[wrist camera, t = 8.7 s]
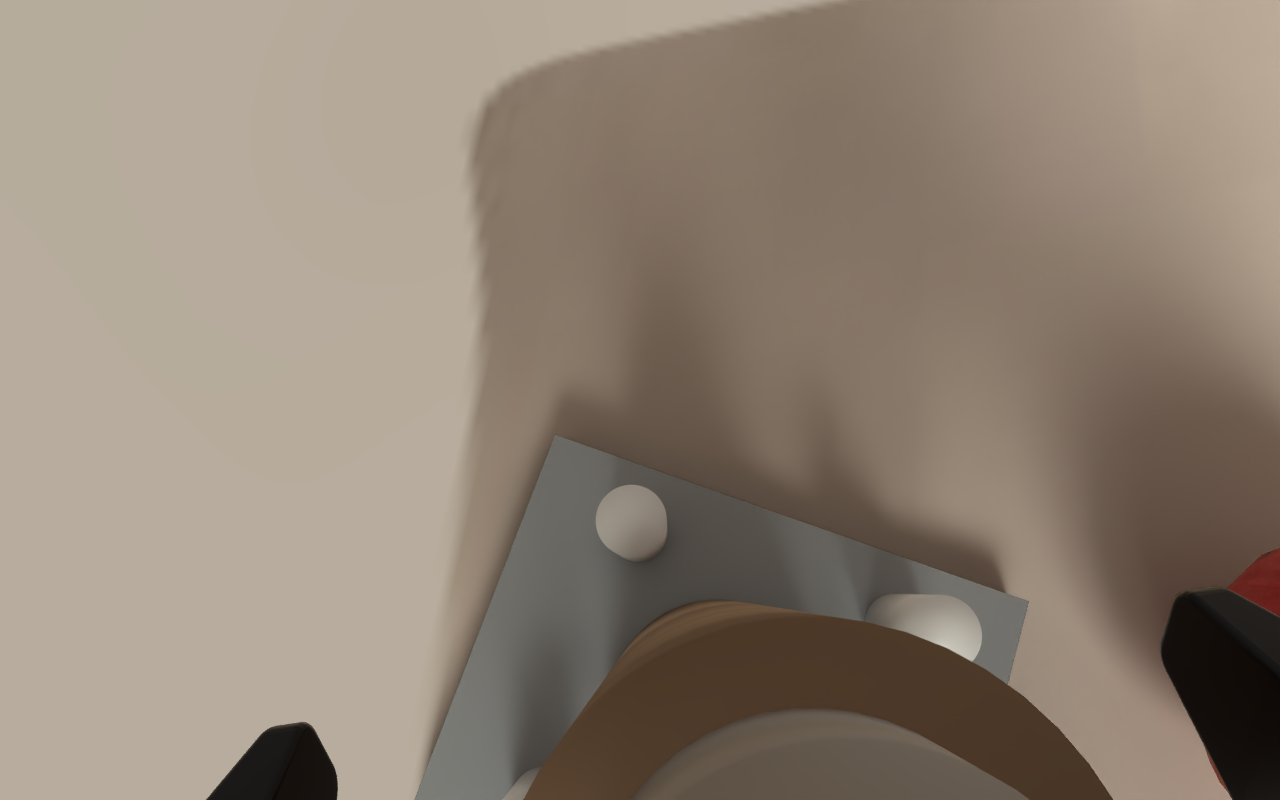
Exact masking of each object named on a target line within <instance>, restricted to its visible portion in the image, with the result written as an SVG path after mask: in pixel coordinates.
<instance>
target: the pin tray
mask: <svg viewBox="0 0 1280 800" xmlns="http://www.w3.org/2000/svg"><path fill="white" fill-rule="evenodd" d="M720 599H723V600H731V601H739V602H745V603H752V604H758V605H764V606H770V607H777V608H783V609H789V610H795V611H802V612H808V613H814V614H820V615H827V616H833V617H839V618H845V619H851V620H858V621H864V622H868V623H872V624H876V625H880V626H884V627H888V628H892V629H896V630H900V631H904V632H908V633H910V634H913V635H915V636H918V637H920V638H923V639H925V640H928V641H930V642H933V643H935V644H938V645H940V646H943V647H946V648H948V649H950V650H952V651H953V652H955V653H957V654H959V655H961V656H963V657H964V658H966V659H968V660H970V661H972V662H973V663H975V664H977V665H979V666H981V667H983V668H984V669H986V670H988V671H989V672H990V673H992V674H993V675H995V676H996V677H997V678H999V679H1000V680H1002V681H1003V682H1004V683H1006V684H1008V681H1009V677H1010V673H1011V669H1012V665H1013V661H1014V657H1015V653H1016V649H1017V646H1018V642H1019V638H1020V634H1021V630H1022V626H1023V622H1024V618H1025V614H1026V611H1027V607H1028V603H1029V601H1026V600H1023V599H1020V598H1017V597H1015V596H1012V595H1009V594H1006V593H1003V592H1000V591H998V590H995V589H992V588H989V587H986V586H983V585H981V584H978V583H975V582H972V581H969V580H966V579H964V578H961V577H958V576H955V575H952V574H949V573H946V572H944V571H941V570H938V569H935V568H932V567H929V566H927V565H924V564H921V563H918V562H915V561H912V560H910V559H907V558H904V557H901V556H898V555H895V554H893V553H890V552H887V551H884V550H881V549H878V548H876V547H873V546H870V545H867V544H864V543H861V542H858V541H856V540H853V539H850V538H847V537H844V536H841V535H839V534H836V533H833V532H830V531H827V530H824V529H822V528H819V527H816V526H813V525H810V524H807V523H805V522H802V521H799V520H796V519H793V518H790V517H788V516H785V515H782V514H779V513H776V512H773V511H770V510H768V509H765V508H762V507H759V506H756V505H753V504H751V503H748V502H745V501H742V500H739V499H736V498H734V497H731V496H728V495H725V494H722V493H719V492H717V491H714V490H711V489H708V488H705V487H702V486H699V485H697V484H694V483H691V482H688V481H685V480H682V479H680V478H677V477H674V476H671V475H668V474H665V473H663V472H660V471H657V470H654V469H651V468H648V467H646V466H643V465H640V464H637V463H634V462H631V461H629V460H626V459H623V458H620V457H617V456H614V455H611V454H609V453H606V452H603V451H600V450H597V449H594V448H592V447H589V446H586V445H583V444H580V443H577V442H575V441H572V440H569V439H566V438H563V437H560V436H558V435H555V436H554V439H553V441H552V444H551V447H550V449H549V452H548V454H547V457H546V460H545V462H544V465H543V467H542V470H541V473H540V475H539V478H538V480H537V483H536V485H535V488H534V491H533V493H532V496H531V498H530V501H529V504H528V506H527V509H526V511H525V514H524V517H523V519H522V522H521V524H520V527H519V530H518V532H517V535H516V537H515V540H514V543H513V545H512V548H511V550H510V553H509V556H508V558H507V561H506V563H505V566H504V569H503V571H502V574H501V576H500V579H499V582H498V584H497V587H496V589H495V592H494V595H493V597H492V600H491V602H490V605H489V608H488V610H487V613H486V615H485V618H484V621H483V623H482V626H481V628H480V631H479V634H478V636H477V639H476V641H475V644H474V647H473V649H472V652H471V654H470V657H469V660H468V662H467V665H466V667H465V670H464V672H463V675H462V678H461V680H460V683H459V685H458V688H457V691H456V693H455V696H454V698H453V701H452V704H451V706H450V709H449V711H448V714H447V717H446V719H445V722H444V724H443V727H442V730H441V732H440V735H439V737H438V740H437V743H436V745H435V748H434V750H433V753H432V756H431V758H430V761H429V763H428V766H427V769H426V771H425V774H424V776H423V779H422V782H421V784H420V787H419V789H418V792H417V795H416V797H415V800H523V799H524V797H525V795H526V794H527V792H528V790H529V788H530V786H531V784H532V783H533V781H534V779H535V777H536V775H537V773H538V771H539V770H540V768H541V767H542V766H543V764H544V763H545V761H546V760H547V759H548V757H549V756H550V754H551V753H552V752H553V750H554V749H555V747H556V746H557V745H558V743H559V742H560V741H561V739H562V738H563V736H564V735H565V734H566V732H567V731H568V729H569V728H570V727H571V725H572V724H573V722H574V721H575V720H576V718H577V717H578V715H579V714H580V713H581V711H582V710H583V708H584V707H585V706H586V704H587V703H588V701H589V700H590V699H591V697H592V696H593V694H594V693H595V692H596V690H597V689H598V688H599V686H600V685H601V683H602V682H603V681H604V679H605V678H606V676H607V675H608V674H609V672H610V671H611V669H612V668H613V667H614V665H615V664H616V662H617V661H618V660H619V658H620V657H621V655H622V654H623V653H624V651H625V650H626V648H627V647H628V646H629V644H630V643H631V641H632V640H633V639H634V638H635V637H636V636H637V635H638V634H639V633H640V631H641V630H642V629H643V628H645V627H646V626H647V625H648V624H649V623H651V622H652V621H653V620H654V619H656V618H658V617H659V616H661V615H662V614H664V613H666V612H668V611H670V610H672V609H674V608H676V607H679V606H681V605H685V604H688V603H692V602H696V601H703V600H720Z"/></svg>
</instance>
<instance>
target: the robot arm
mask: <svg viewBox="0 0 1280 800" xmlns="http://www.w3.org/2000/svg"><path fill="white" fill-rule="evenodd" d="M1161 657H1162V661H1163V664H1164V667H1165V669H1166V671H1167V673H1168V675H1169V677H1170V679H1171V681H1172V683H1173V685H1174V687H1175V689H1176V691H1177V693H1178V695H1179V697H1180V699H1181V701H1182V703H1183V705H1184V707H1185V709H1186V711H1187V713H1188V715H1189V717H1190V719H1191V720H1192V722H1193V724H1194V726H1195V728H1196V730H1197V732H1198V734H1199V736H1200V738H1201V740H1202V742H1203V744H1204V746H1205V748H1206V750H1207V752H1208V754H1209V756H1210V758H1211V760H1212V762H1213V764H1214V766H1215V768H1216V770H1217V771H1218V773H1219V775H1220V777H1221V779H1222V781H1223V783H1224V785H1225V787H1226V789H1227V791H1228V793H1229V794H1230V796H1231V798H1232V800H1280V616H1278V615H1276V614H1274V613H1272V612H1270V611H1268V610H1267V609H1265V608H1263V607H1261V606H1259V605H1257V604H1255V603H1254V602H1252V601H1250V600H1248V599H1246V598H1244V597H1242V596H1241V595H1239V594H1237V593H1235V592H1233V591H1231V590H1229V589H1226V588H1223V587H1218V586H1213V587H1205V588H1198V589H1191V590H1185V591H1182V592H1180V593H1179V594H1178V595H1177V596H1176V597H1175V598H1174V601H1173V604H1172V607H1171V610H1170V614H1169V617H1168V620H1167V624H1166V627H1165V631H1164V634H1163V637H1162V641H1161ZM337 785H338V783H337V775H336V771H335V768H334V766H333V764H332V762H331V760H330V758H329V756H328V754H327V752H326V750H325V749H324V747H323V745H322V743H321V741H320V739H319V737H318V735H317V733H316V732H315V730H314V728H313V727H312V726H311V725H310V724H308V723H306V722H299V723H293V724H286V725H279V726H274V727H271V728H269V729H267V730H266V731H265V732H263V733H262V734H261V735H260V736H259V737H258V739H257V740H256V741H255V742H254V743H253V745H252V746H251V747H250V748H249V749H248V750H247V752H246V753H245V754H244V755H243V756H242V758H241V759H240V760H239V761H238V762H237V764H236V765H235V766H234V767H233V768H232V770H231V771H230V772H229V773H228V774H227V775H226V777H225V778H224V779H223V780H222V781H221V783H220V784H219V785H218V786H217V787H216V789H215V790H214V791H213V792H212V793H211V795H210V796H209V797H208V798H207V799H206V800H337V791H338V786H337Z"/></svg>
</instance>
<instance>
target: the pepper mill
mask: <svg viewBox="0 0 1280 800" xmlns="http://www.w3.org/2000/svg"><path fill="white" fill-rule="evenodd" d="M523 800H1113V799H1112V797H1111V796H1110V794H1109V793H1108V791H1107V790H1106V788H1105V787H1104V785H1103V784H1102V782H1101V781H1100V780H1099V778H1098V777H1097V775H1096V774H1095V772H1094V771H1093V769H1092V768H1091V766H1090V765H1089V763H1088V762H1087V761H1086V760H1085V759H1084V758H1083V756H1082V755H1081V754H1080V753H1079V752H1078V751H1077V750H1076V748H1075V747H1074V746H1073V745H1072V744H1071V743H1070V741H1069V740H1068V739H1067V738H1066V737H1065V736H1064V734H1063V733H1062V732H1061V731H1060V730H1059V729H1058V728H1057V727H1056V726H1055V725H1054V724H1053V723H1052V722H1051V721H1050V720H1049V719H1048V718H1047V717H1045V716H1044V715H1043V714H1042V713H1041V712H1040V711H1039V710H1038V709H1037V708H1036V707H1035V706H1034V705H1032V704H1031V703H1030V702H1029V701H1028V700H1027V699H1026V698H1025V697H1024V696H1022V695H1021V694H1020V693H1018V692H1017V691H1015V690H1014V689H1013V688H1011V687H1010V686H1009V685H1007V684H1006V683H1004V682H1003V681H1002V680H1000V679H999V678H997V677H996V676H995V675H993V674H992V673H990V672H989V671H988V670H986V669H984V668H983V667H981V666H979V665H977V664H975V663H973V662H972V661H970V660H968V659H966V658H964V657H963V656H961V655H959V654H957V653H955V652H953V651H952V650H950V649H948V648H946V647H943V646H940V645H938V644H935V643H933V642H930V641H928V640H925V639H923V638H920V637H918V636H915V635H913V634H910V633H908V632H904V631H900V630H896V629H892V628H888V627H884V626H880V625H876V624H872V623H868V622H864V621H858V620H851V619H845V618H839V617H833V616H827V615H820V614H814V613H808V612H802V611H795V610H789V609H783V608H777V607H770V606H764V605H758V604H752V603H745V602H739V601H731V600H723V599H720V600H703V601H696V602H692V603H688V604H685V605H681V606H679V607H676V608H674V609H672V610H670V611H668V612H666V613H664V614H662V615H661V616H659V617H658V618H656V619H654V620H653V621H652V622H651V623H649V624H648V625H647V626H646V627H645V628H643V629H642V630H641V631H640V633H639V634H638V635H637V636H636V637H635V638H634V639H633V640H632V641H631V643H630V644H629V646H628V647H627V648H626V650H625V651H624V653H623V654H622V655H621V657H620V658H619V660H618V661H617V662H616V664H615V665H614V667H613V668H612V669H611V671H610V672H609V674H608V675H607V676H606V678H605V679H604V681H603V682H602V683H601V685H600V686H599V688H598V689H597V690H596V692H595V693H594V694H593V696H592V697H591V699H590V700H589V701H588V703H587V704H586V706H585V707H584V708H583V710H582V711H581V713H580V714H579V715H578V717H577V718H576V720H575V721H574V722H573V724H572V725H571V727H570V728H569V729H568V731H567V732H566V734H565V735H564V736H563V738H562V739H561V741H560V742H559V743H558V745H557V746H556V747H555V749H554V750H553V752H552V753H551V754H550V756H549V757H548V759H547V760H546V761H545V763H544V764H543V766H542V767H541V768H540V770H539V771H538V773H537V775H536V777H535V779H534V781H533V783H532V784H531V786H530V788H529V790H528V792H527V794H526V795H525V797H524V799H523Z"/></svg>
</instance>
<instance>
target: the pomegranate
mask: <svg viewBox="0 0 1280 800" xmlns="http://www.w3.org/2000/svg"><path fill="white" fill-rule="evenodd" d="M1227 589H1229V590H1231V591H1233V592H1235V593H1237V594H1239V595H1241V596H1242V597H1244V598H1246V599H1248V600H1250V601H1252V602H1254V603H1255V604H1257V605H1259V606H1261V607H1263V608H1265V609H1267V610H1268V611H1270V612H1272V613H1274V614H1276V615H1278V616H1280V549H1277V550H1274V551H1271V552H1268V553H1266V554H1263V555H1261V556H1260V557H1259V558H1258V559H1257V560H1256V561H1255V562H1254V563H1253V564H1252V565H1251V566H1250V567H1249V568H1248V569H1247V570H1246V571H1245V572H1244V573H1243V574H1242V575H1240V576H1239V577H1238V578H1237V579H1236V580H1235V581H1234V582H1233V583H1232V584H1231V585H1230V586H1229V587H1228V588H1227ZM1205 749H1206V748H1205ZM1206 752H1207V750H1206ZM1207 755H1208V758H1209V760H1210V763H1211V765H1212V767H1213V769H1214V771H1215V773H1216V775H1217V777H1218V779H1219V781H1220V783H1221V784H1222V785H1223V786H1224V788H1225V789H1226V787H1225V785H1224V783H1223V781H1222V779H1221V777H1220V775H1219V773H1218V771H1217V770H1216V768H1215V766H1214V764H1213V762H1212V760H1211V758H1210V756H1209V754H1208V752H1207ZM1226 790H1227V789H1226Z"/></svg>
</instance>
